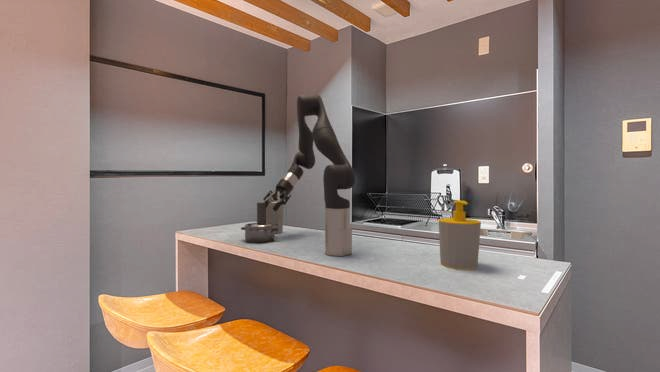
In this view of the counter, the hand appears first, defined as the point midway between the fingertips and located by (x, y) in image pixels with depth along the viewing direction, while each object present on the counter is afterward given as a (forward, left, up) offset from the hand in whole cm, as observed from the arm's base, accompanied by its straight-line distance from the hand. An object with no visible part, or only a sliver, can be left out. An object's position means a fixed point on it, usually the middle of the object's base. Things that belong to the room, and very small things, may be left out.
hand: (268, 209), depth 157 cm
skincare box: (+12, -12, -14) cm, 22 cm away
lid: (0, +4, -8) cm, 9 cm away
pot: (0, +5, -14) cm, 14 cm away
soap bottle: (-82, -15, -14) cm, 85 cm away
